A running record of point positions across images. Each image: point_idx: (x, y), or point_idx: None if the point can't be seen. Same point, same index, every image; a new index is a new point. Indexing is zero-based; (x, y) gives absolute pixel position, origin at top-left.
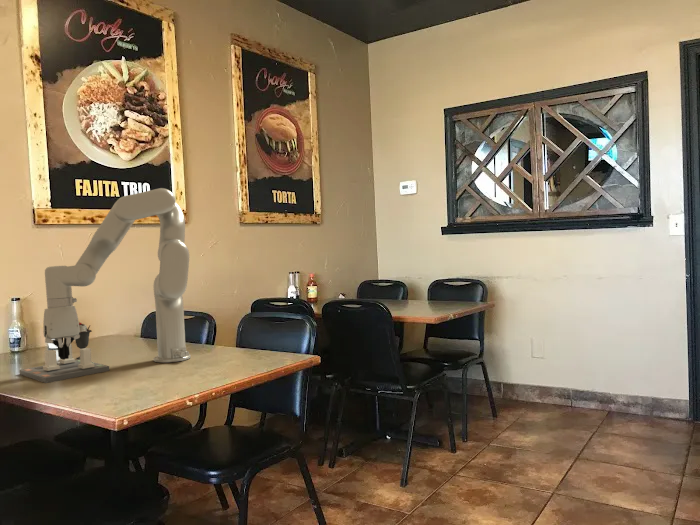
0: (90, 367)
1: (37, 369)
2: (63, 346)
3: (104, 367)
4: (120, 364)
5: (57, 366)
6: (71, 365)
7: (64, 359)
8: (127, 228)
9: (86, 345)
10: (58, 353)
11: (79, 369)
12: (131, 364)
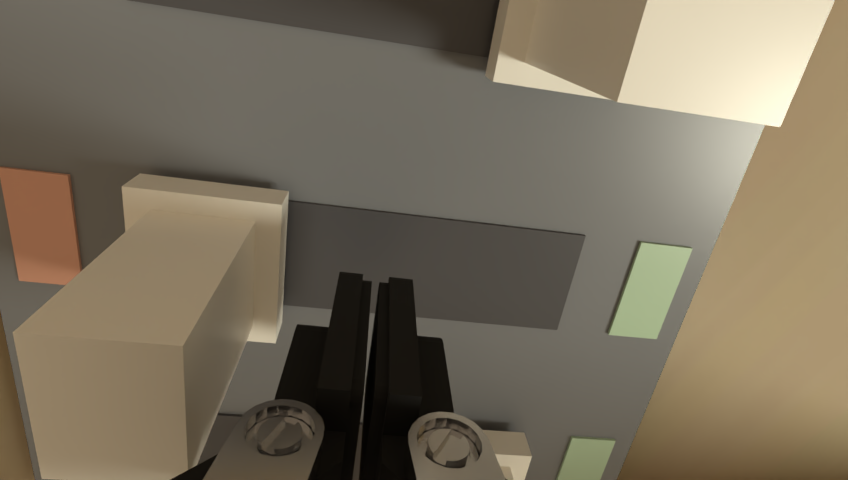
0: None
1: (116, 1)
2: (380, 440)
3: None
4: (805, 385)
5: (253, 337)
6: (481, 225)
7: (534, 28)
8: None
9: None
10: (290, 353)
11: None
12: (812, 458)
